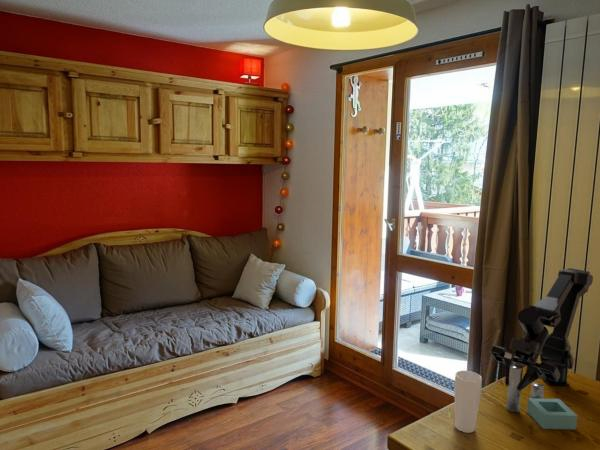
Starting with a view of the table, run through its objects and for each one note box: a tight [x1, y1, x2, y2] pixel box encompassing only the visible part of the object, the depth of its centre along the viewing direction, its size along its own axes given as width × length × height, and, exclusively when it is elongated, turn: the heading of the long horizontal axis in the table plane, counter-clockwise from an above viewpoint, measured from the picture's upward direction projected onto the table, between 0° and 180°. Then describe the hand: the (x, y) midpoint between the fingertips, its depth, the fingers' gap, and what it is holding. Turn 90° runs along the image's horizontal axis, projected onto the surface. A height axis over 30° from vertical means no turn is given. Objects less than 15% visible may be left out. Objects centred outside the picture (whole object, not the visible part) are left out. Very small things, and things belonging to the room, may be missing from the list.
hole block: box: [526, 398, 578, 430], centre depth 132 cm, size 9×9×4 cm
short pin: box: [529, 381, 545, 399], centre depth 144 cm, size 3×3×4 cm
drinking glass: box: [453, 370, 483, 434], centre depth 127 cm, size 7×7×15 cm
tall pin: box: [505, 364, 524, 413], centre depth 137 cm, size 3×3×13 cm
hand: (512, 387), depth 136 cm, fingers closed on tall pin, 3 cm apart
